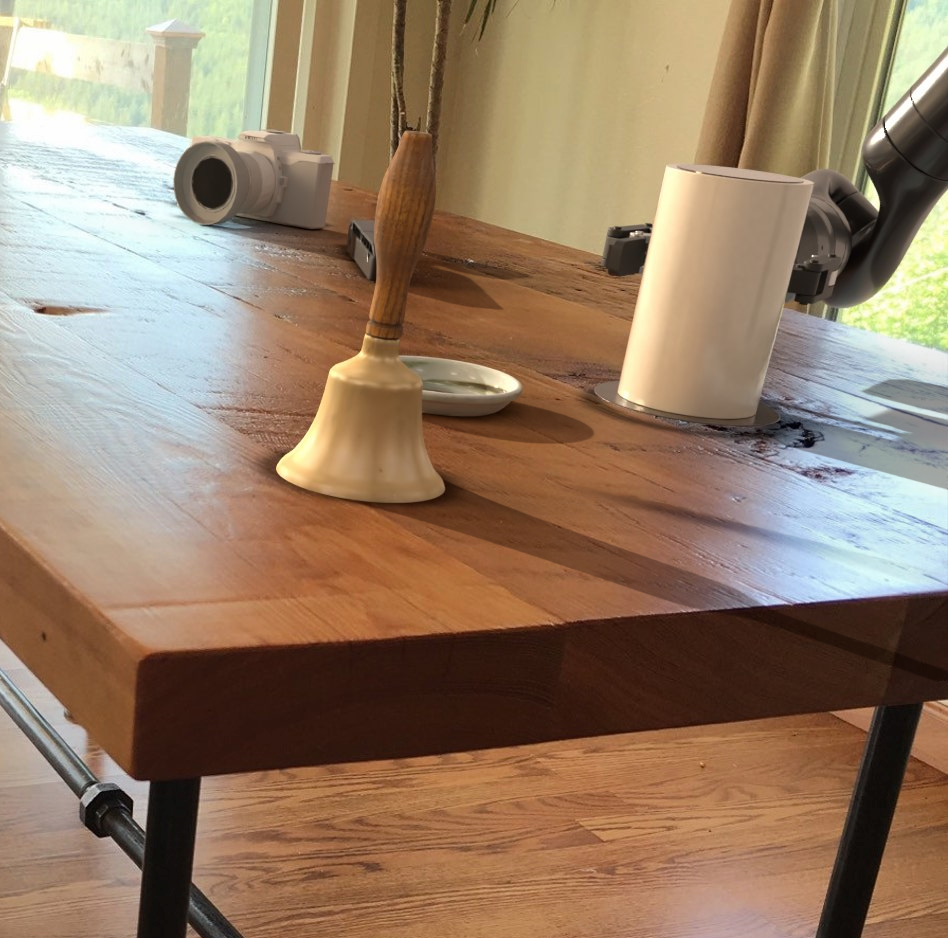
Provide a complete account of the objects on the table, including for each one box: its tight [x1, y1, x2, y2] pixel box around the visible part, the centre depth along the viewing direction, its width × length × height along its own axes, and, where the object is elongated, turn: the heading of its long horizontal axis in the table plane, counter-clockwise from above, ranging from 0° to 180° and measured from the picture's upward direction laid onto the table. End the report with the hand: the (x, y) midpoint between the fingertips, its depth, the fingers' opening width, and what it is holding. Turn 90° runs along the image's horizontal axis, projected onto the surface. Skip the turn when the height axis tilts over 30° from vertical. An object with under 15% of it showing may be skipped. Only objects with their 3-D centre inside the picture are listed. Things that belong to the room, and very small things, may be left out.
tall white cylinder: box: [618, 163, 814, 419], centre depth 99 cm, size 13×8×13 cm, turn 172°
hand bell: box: [275, 130, 446, 504], centre depth 76 cm, size 8×8×16 cm
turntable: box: [593, 380, 781, 427], centre depth 100 cm, size 11×11×1 cm
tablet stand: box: [346, 218, 377, 282], centre depth 143 cm, size 18×3×3 cm, turn 0°
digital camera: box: [173, 129, 335, 230], centre depth 163 cm, size 17×14×10 cm
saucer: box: [399, 355, 524, 417], centre depth 94 cm, size 10×10×2 cm
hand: (680, 270), depth 103 cm, fingers open, 8 cm apart
